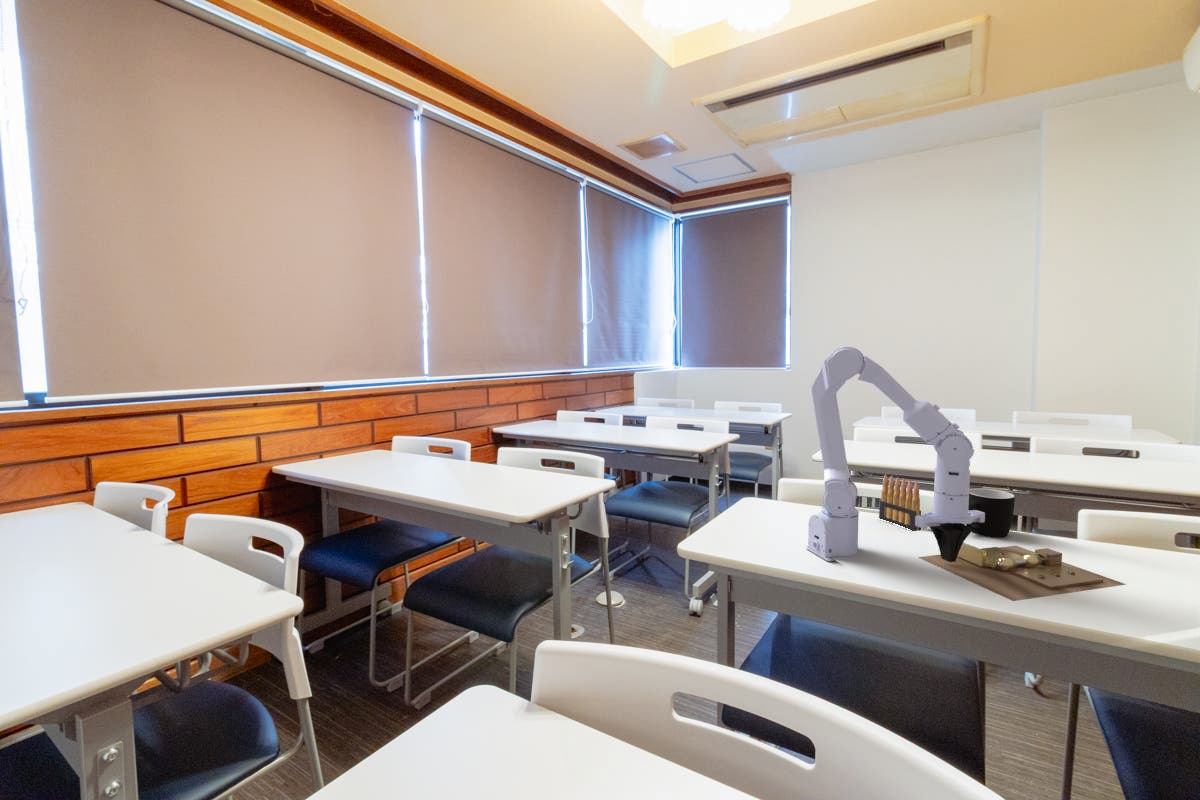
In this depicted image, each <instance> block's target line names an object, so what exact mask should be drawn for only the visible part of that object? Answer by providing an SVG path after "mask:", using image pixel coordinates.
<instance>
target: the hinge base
mask: <svg viewBox="0 0 1200 800" xmlns="http://www.w3.org/2000/svg"><path fill="white" fill-rule="evenodd" d="M1034 552H1035V554H1037V555H1038V556H1040V557H1044V556H1046V561H1044V562H1042V564H1046V567H1040V568H1032V569H1024V570H1017V571H1012V574H1013V575H1015V576H1017V577H1020V578H1022V579H1025V580H1027V581H1030V582H1032V583H1035V584H1037V585H1039V586H1042V587H1044V588H1047V589H1049V590H1055V589H1062V588H1069V587H1076V586H1083V585H1090V584H1097V583H1103V579H1101V578H1098V577H1096V576H1093V575H1090V574H1087V573H1084V572H1082V571H1079V570H1076V569H1073V568H1070V567H1068V566H1065V565H1062V562H1063V553H1062V552H1059V551H1057V550H1053V549H1051V548H1046V547H1044V548H1039V549H1034Z"/></svg>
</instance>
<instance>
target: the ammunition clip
mask: <svg viewBox="0 0 1200 800" xmlns="http://www.w3.org/2000/svg"><path fill="white" fill-rule="evenodd" d="M883 476H884V477H883V479H882V489H881V496H880V497H881V500H880V501H879V510H878V511H879V512H878V513H879V514H878V519H879V518H880V519H883V520H886V521H889V522H892V523H895V524H898V525H900V526H903V527H905V528H908V529H910V530H912V531H911V532H917V531H922V528H920V527H918V526H915V516H919V515H922V510H920V509H921V507H920V506H921V499H920V486H919V484H918V483H919V482H918V481H916V482H915V483H914V486H913V483H912V480H911V479H909V481H908V483H907V482H906V479H905V478H903V479H902V480H900V478H899V476H898V477H897V476H896V480H894V477H893V475H891V476H890V477H889V479H888V476H887V474H886V473H885V474H884V475H883ZM910 530H909V531H910Z"/></svg>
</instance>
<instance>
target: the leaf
mask: <svg viewBox="0 0 1200 800" xmlns="http://www.w3.org/2000/svg"><path fill="white" fill-rule="evenodd" d="M958 557H960V558H963V559H965V560H967V561H970V562H972V563H975V564H977V565H979V566H982V567H983V566H986V567H991V568H994V569H999V570H1002V571H1003V570H1011V569H1015V568H1016V567H1017V566H1021V565H1023V566H1025V567H1034V566H1040V565H1041V564H1042V562H1044V561H1046V556H1044V557H1040V556H1038V555H1037V554H1031V555H1023V556H1020V555H1017V554H1014V553H1012V552H1009V551H1006V550H1004V549H1001V548H999V546H994V547H993V546H992V547H984V548H983V547H981V548H979V547H976V546H973V545H970V544H968V543H966V542H963V544H962V546H961V548H960V550H959V553H958Z"/></svg>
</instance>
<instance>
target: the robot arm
mask: <svg viewBox="0 0 1200 800" xmlns="http://www.w3.org/2000/svg"><path fill="white" fill-rule="evenodd" d="M856 375H858V377H857V381H861V382H866V383H870V384H871V385H874V386H875V387H876V388H877V389H878V390H880V391H881V392H882V393H883V394H884V395H885V396H886V397H887V398H889V400H890V401H892V402H893V403H894V404H895V405H896V406H897V407H898V408H900V409H901V410H902V411H903V418H902V421H903V422H904V423H906V424H907V425H908V427H910V428H911V429H912V430H913V431H914V432H915V433H916V434H917V435H918V436H919V437H920V438H921V439H922V440H923V441H924V442H925V443H927V444H928V445H932V446H933V448H934V450H935V452H936V466H935V468H934V483H933V485H934V486H933V488H934V489H933V504H932V505H933V510H932V511H929V512H926V513H923V514H921V515H919V516H915V526H918V527H920V528H921V529H928V528H929V529H930V530H931V531H932V533H933V535H934V538H935V539H936V543H937V546H938V549H939V553H940V554H941V558H942V559H944V560H946V561H948V562H955V561H956V559H957V556H958V553H959V550H960V548H961V546H962V544H963V543H965V540H966V539H967V537H968V536H969V535H970V534H972V532H971V527H969V526H966V524H971V523H972V522H980V523H982V522H985V513H984V512H981V511H977V510H968V506H969V489H970V486H971V485H970V482H971V478H970V477H971V470H970V467H971V461H970V460H971V459H972V458H973V456H974V453H975V449H974V447H973V444H972V441H971V440H970V439H969V438H968V436H967V435H965V433H964V432H963V431H962V430H960V425H958V424H957V423H955V422H954V423H952V422H951V421H950V420H949V419H948V418H947V417H946V416H945V415H944V414H943V413H941V412H940V409H941V408H940V406H939V405H937V404H936V403H933V404H932V403H931V402H930V401H928V400H917V399H916V398H914V397H913V395H911V394H910V393H909V392H908V391H907V390H906V388H905V387H903V386H902V385H901V384H900V383H899V382H898V381H897V380H896V379H895V378H894V377H893V376H892V375H891V374H890V373H889V372H888V371H887V370H886V369H885V368H884V367H883V366H882V365H880V363H878V362H876V361H875V360H874V359H872V358H870V357H869V356H867V355H864V354H863V353H862V351H861V350H859V349H858V348H856V347H852V346H841V347H838V348H837V349H835V350H833V351H832V352H831V353H830V354H829V356H827V357H826V358H825V359H824V360H823V362H822V366H821V368H819V371H818V373H817V375H816V377H815V378H814V381H813V383H812V385H811V396H812V402H813V409H814V416H815V421H816V427H817V433H818V434H817V435H818V439H819V446H820V452H821V458H822V464H823V471H824V472H823V477H824V478H823V481H824V483H823V484H824V492H823V494H822V497H821V498H822V499H821V500H822V507H821V511H820V512H819V513H815V514H813V515H811V516H810V517H809V519H808V533H807V534H808V537H807V538H808V539H807V540H808V541H807V542H808V543H807V546H805V549H806V550H808V551H810V552H812V554H815V555H816V556H818V557H820V558H821V559H823V560H825V561H827V562H835V561H837V560H836V559H835V558H834V557H849V556H854V555H856V554H858V551H859V549H858V547H859V546H858V545H859V543H858V542H859V515H860V512H859V510H858V509H857V508H856V505H857V504H856V501H857V497H858V495H859V493H858V487H857V485H856V484H855V483H854V482H853V479H852V478H851V474H850V473H851V472H850V469H849V466H848V461H847V454H846V448H845V441H844V435H843V434H844V433H843V428H842V423H841V417H840V410H839V404H838V398H837V392H838V391H840V389H841V388H842V387H843V385H845V384H846V382H847V381H849V380H850V379H852V378H853V377H855V376H856ZM940 554H939V555H940Z"/></svg>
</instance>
